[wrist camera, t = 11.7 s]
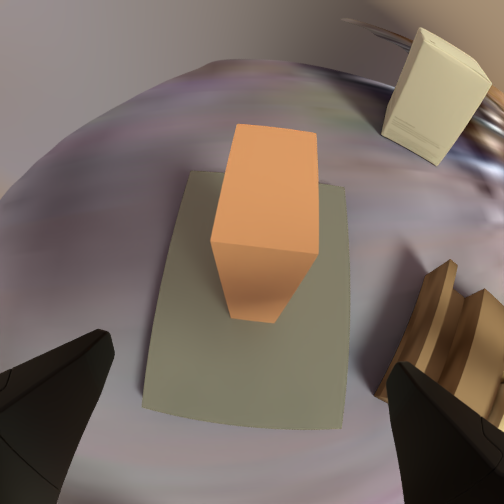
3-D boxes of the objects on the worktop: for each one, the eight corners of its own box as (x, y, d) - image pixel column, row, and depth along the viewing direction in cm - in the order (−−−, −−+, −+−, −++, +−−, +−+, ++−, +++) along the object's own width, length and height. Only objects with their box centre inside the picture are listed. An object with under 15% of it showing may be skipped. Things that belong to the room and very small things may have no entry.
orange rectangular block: (274, 323, 18) (318, 254, 7) (231, 318, 18) (210, 241, 7) (280, 256, 20) (316, 133, 9) (240, 252, 20) (237, 123, 9)
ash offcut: (476, 439, 14) (506, 442, 10) (462, 433, 14) (494, 437, 10) (494, 394, 15) (525, 391, 11) (481, 386, 16) (514, 382, 12)
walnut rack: (475, 444, 14) (500, 447, 10) (373, 396, 17) (399, 399, 14) (509, 344, 18) (533, 336, 15) (425, 275, 22) (450, 259, 18)
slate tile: (334, 424, 17) (341, 428, 15) (148, 404, 17) (141, 407, 16) (339, 196, 25) (344, 187, 23) (193, 180, 25) (190, 170, 24)
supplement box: (438, 169, 28) (494, 85, 14) (379, 136, 29) (422, 37, 15) (437, 133, 31) (478, 60, 17) (386, 105, 32) (418, 24, 19)
